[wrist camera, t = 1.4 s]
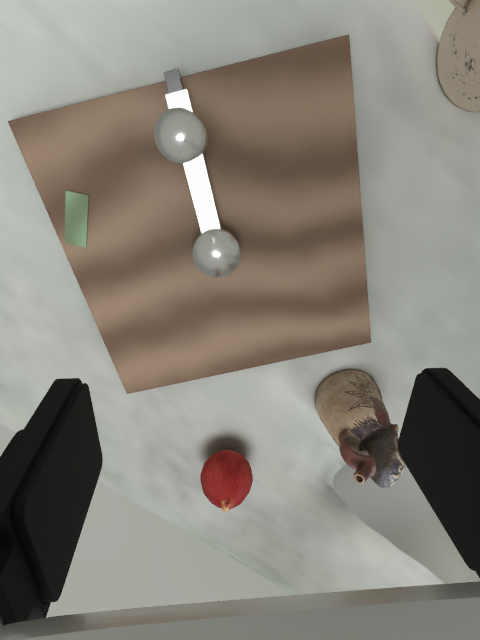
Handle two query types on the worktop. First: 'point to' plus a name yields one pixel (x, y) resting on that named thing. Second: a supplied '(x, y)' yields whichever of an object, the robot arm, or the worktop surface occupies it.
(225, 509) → the onion
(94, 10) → the worktop surface
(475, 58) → the teacup with lid
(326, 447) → the worktop surface
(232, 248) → the dial lever
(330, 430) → the tan brown ceramic jug
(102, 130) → the wooden cutting board
